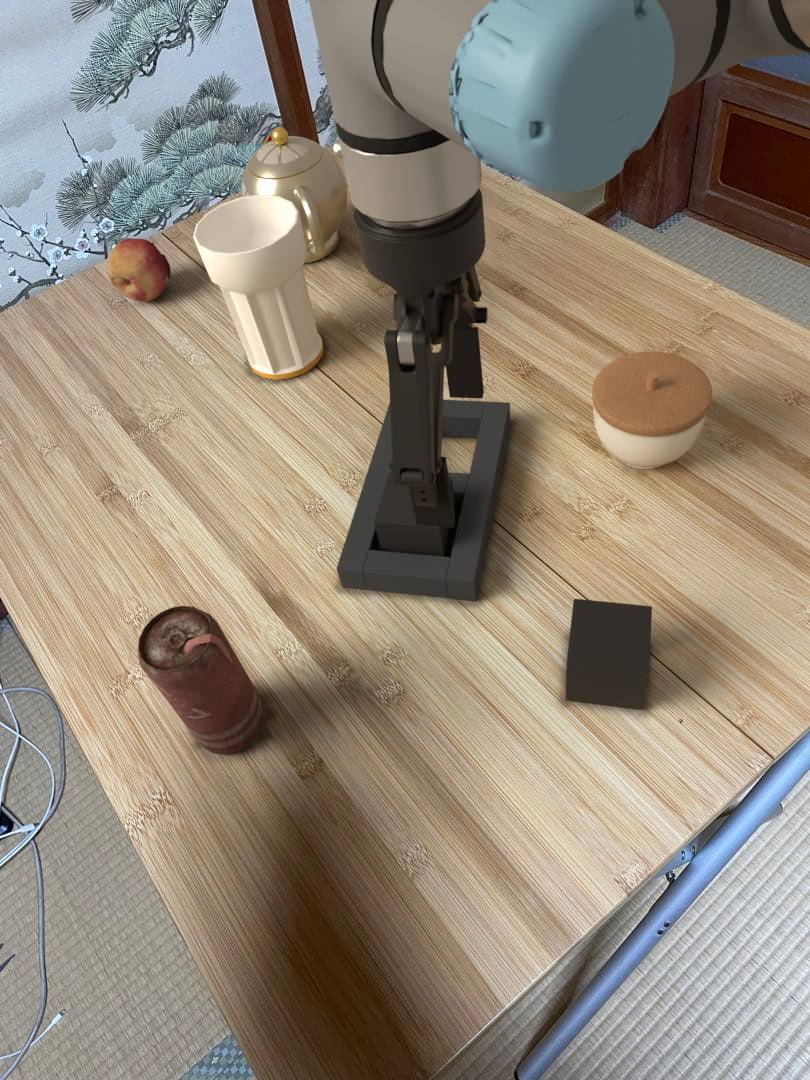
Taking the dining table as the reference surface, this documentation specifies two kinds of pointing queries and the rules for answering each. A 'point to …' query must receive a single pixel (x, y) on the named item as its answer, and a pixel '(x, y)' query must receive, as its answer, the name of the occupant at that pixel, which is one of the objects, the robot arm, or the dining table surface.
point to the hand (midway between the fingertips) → (452, 455)
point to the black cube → (608, 653)
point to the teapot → (301, 186)
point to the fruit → (138, 269)
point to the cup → (263, 281)
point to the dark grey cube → (409, 524)
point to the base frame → (472, 499)
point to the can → (202, 679)
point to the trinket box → (650, 407)
